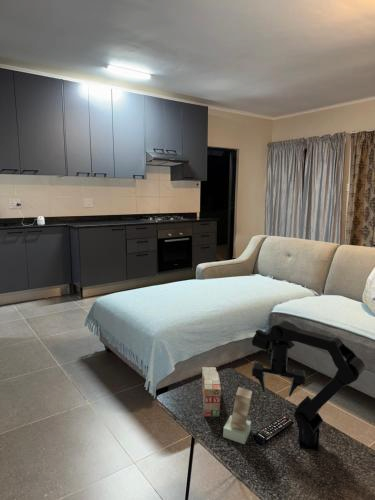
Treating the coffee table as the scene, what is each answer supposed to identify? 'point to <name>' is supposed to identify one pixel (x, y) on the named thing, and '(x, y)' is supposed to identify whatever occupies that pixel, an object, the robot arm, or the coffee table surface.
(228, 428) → the sage base block
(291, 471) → the coffee table surface
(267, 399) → the coffee table surface
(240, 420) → the maple pillar
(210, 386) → the stack of blocks
